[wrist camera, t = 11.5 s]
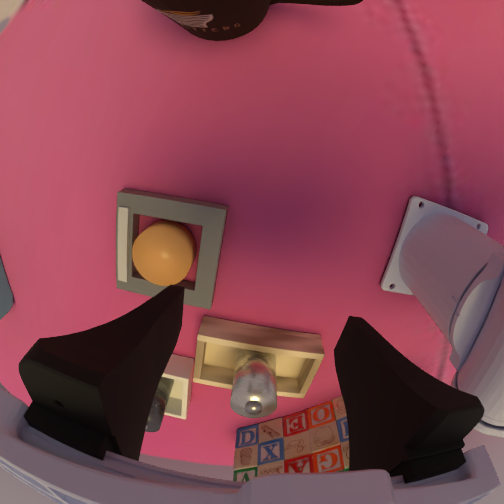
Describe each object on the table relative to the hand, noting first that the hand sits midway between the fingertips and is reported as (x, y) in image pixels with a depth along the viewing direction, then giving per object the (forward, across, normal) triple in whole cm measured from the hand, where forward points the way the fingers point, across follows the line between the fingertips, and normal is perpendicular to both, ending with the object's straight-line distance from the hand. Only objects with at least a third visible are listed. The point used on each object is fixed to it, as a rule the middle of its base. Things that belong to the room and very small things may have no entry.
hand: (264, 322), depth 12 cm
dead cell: (+9, +8, +16) cm, 20 cm away
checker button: (+10, +7, +2) cm, 12 cm away
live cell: (+9, -2, +10) cm, 14 cm away
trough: (+10, -2, +10) cm, 15 cm away
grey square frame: (+10, +7, +2) cm, 12 cm away
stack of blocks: (+10, -12, +20) cm, 25 cm away
